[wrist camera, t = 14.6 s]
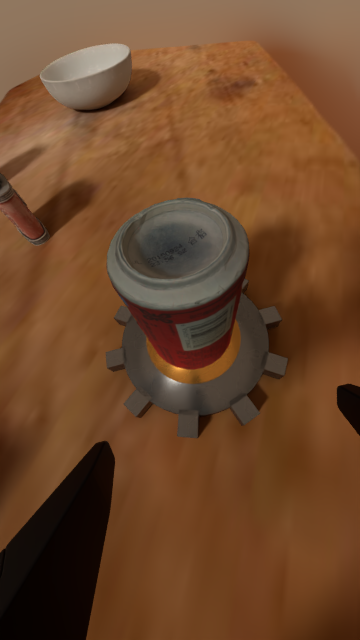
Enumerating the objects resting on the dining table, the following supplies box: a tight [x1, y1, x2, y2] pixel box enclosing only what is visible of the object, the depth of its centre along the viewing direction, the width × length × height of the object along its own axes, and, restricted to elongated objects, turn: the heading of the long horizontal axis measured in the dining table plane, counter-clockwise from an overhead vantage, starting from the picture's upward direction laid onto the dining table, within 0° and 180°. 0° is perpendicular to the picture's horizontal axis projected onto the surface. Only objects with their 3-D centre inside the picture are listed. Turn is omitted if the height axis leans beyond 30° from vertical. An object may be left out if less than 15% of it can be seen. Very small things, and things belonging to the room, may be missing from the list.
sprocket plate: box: [106, 279, 288, 438], centre depth 22 cm, size 17×17×2 cm
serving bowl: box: [40, 44, 132, 110], centre depth 51 cm, size 21×21×7 cm
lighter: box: [0, 173, 50, 245], centre depth 30 cm, size 8×3×10 cm, turn 43°
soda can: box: [107, 198, 249, 370], centre depth 15 cm, size 7×7×12 cm
